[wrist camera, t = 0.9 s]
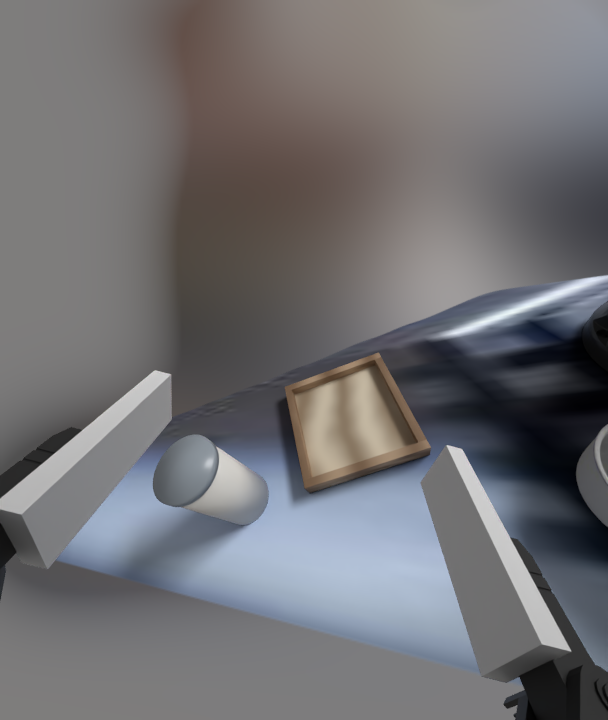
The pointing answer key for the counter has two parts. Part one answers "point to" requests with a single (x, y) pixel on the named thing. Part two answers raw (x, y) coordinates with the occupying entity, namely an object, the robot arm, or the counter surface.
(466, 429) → the counter surface
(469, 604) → the robot arm
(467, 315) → the counter surface
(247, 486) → the canister
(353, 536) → the counter surface
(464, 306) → the counter surface
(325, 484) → the tray
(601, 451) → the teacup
